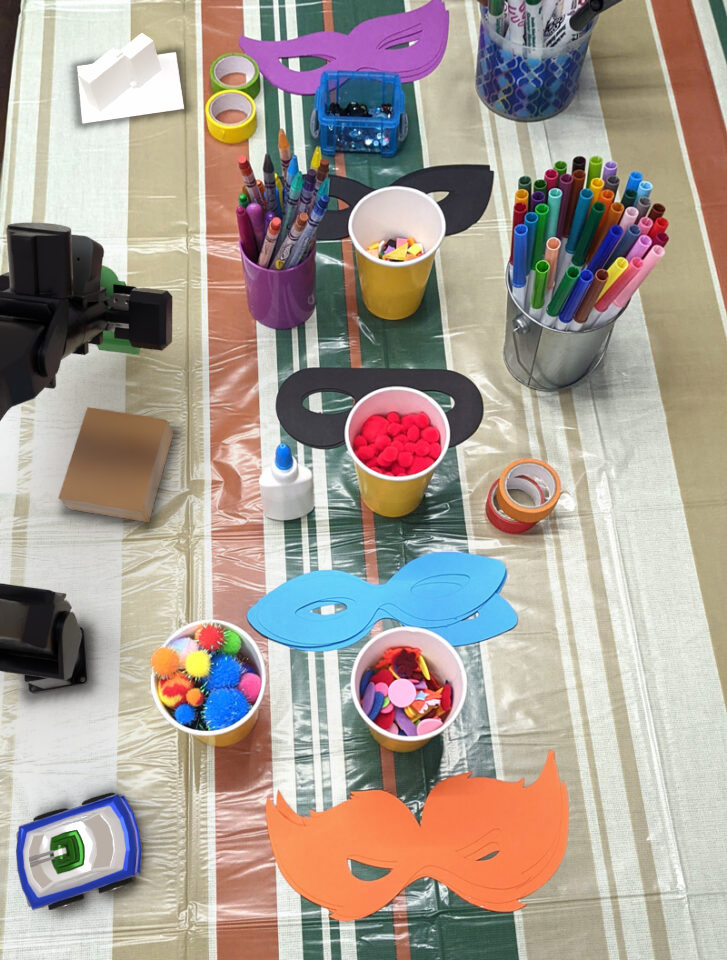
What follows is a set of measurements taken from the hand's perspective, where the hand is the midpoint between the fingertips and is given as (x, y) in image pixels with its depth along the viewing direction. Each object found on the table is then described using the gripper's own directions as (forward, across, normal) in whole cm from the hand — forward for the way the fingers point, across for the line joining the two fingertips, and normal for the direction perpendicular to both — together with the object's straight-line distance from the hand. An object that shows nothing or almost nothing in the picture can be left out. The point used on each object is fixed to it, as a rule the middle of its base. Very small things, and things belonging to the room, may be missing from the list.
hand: (112, 295), depth 103 cm
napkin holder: (+40, +11, -21) cm, 46 cm away
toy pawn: (+4, 0, +6) cm, 7 cm away
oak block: (-3, -2, +21) cm, 21 cm away
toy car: (-33, -8, +51) cm, 61 cm away
